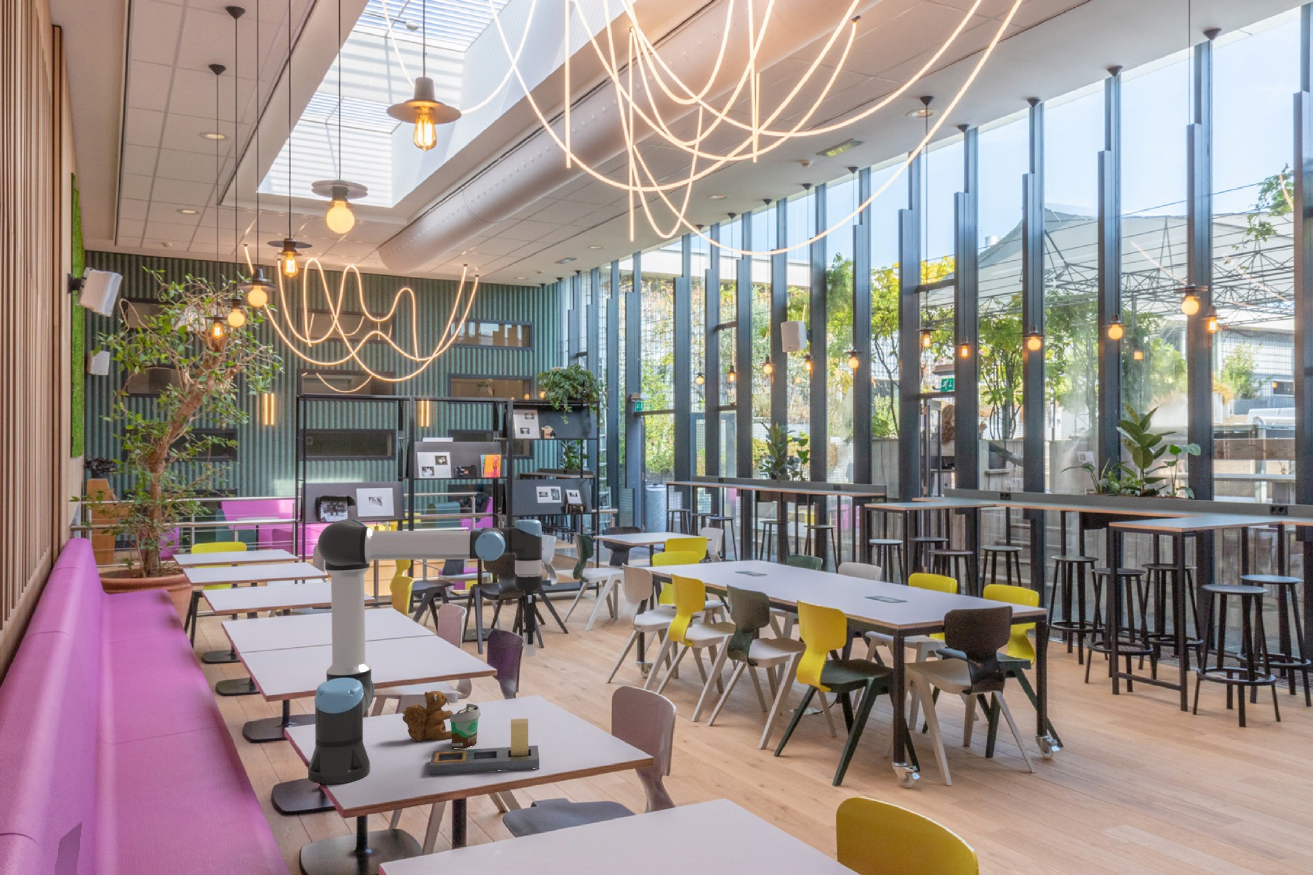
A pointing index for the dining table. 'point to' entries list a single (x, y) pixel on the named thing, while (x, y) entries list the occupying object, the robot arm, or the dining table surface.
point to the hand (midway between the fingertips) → (529, 651)
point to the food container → (465, 726)
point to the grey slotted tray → (481, 760)
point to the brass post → (519, 737)
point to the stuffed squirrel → (428, 718)
